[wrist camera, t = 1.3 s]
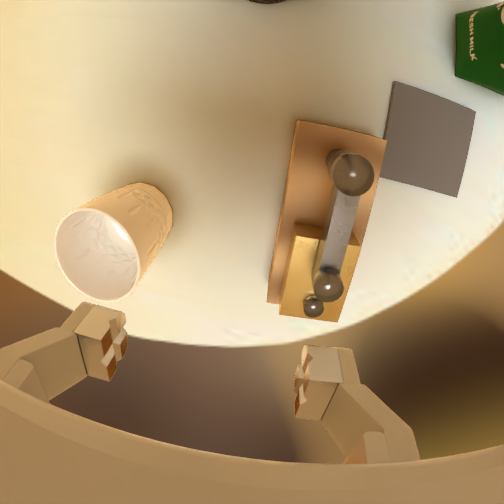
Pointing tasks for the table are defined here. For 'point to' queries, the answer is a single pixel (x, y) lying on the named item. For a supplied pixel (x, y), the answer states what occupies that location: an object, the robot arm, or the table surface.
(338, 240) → the lever
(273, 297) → the plane body
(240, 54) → the table surface
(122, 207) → the white cup
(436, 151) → the rubber mat
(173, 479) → the robot arm
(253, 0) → the travel mug
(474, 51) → the milk carton
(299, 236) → the gold block with knob
